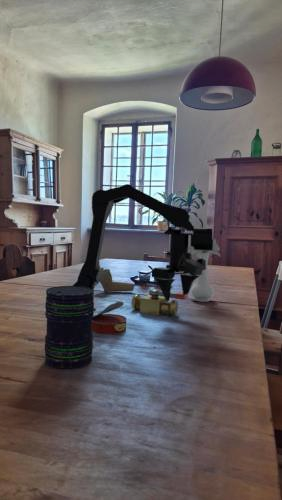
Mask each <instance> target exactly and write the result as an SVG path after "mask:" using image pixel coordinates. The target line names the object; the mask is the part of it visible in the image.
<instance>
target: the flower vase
mask: <svg viewBox="0 0 282 500" xmlns="http://www.w3.org/2000/svg"><path fill="white" fill-rule="evenodd" d="M219 251H221V249H220V247H219V244H218V243H217V241H216V238H214V239H213V248H212V251H208V250H194V247H191V244H190V245H188V253H191V255H192V254H195V255H196V258H198V259H201V258H202V259H204V260H206V269H205V270H203V271H202V275H198V276H199V277H198V278H197V280H196V282H195V283H194V285H193V284H192V286H191V288H190V291H189V293H190V294H191V296H192V297H193V300H194V301H195V302H200V303H201V302H202V303H206V302H209V301H211V300H210V299H211V298H213V296H214V295H215V290H214V288H213V287H212V285H211V284H210V282H209V279H208V263H209V262H208V261H209V259H210V255H211V254H213V255H216V256H217V255H218V256H219V257H220V258H221V254H220V253H219Z"/></svg>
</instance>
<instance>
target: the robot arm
mask: <svg viewBox="0 0 282 500" xmlns="http://www.w3.org/2000/svg"><path fill="white" fill-rule="evenodd" d="M127 199H128V200H129V199H131V200H132V201H134V202H136V203H138V204H140V205H142V206H144V207H146V208H148V209H150V210H151V211H153V212H155V213H157V214H159V215H160V216H161V217H163V219H165V220H166V221H168V222H169V224H172V226H174V227H176V229H175V228H172V227H171V226H169V227H168V228H167V230H165V231H164V232H163V233H164V235H170V237H169V251H167V252H166V256H169V259H168V261H169V262H168V264H166V266H165V267H163V266H162V267H161V266H159V267H154V268H153V269H152V270H151V278H154V280H155V281H156V283H157V284H158V286H159V287H160V290H161V291H162V293H163V295H164V297H165V300H167V301H170V299H171V298H170V292H172V291H171V289H172V288H171V287H172V284H173V283H174V282H175V279H174V278H175V276H176V275H179V276H180V283H181V289H182V293H188V294H189V293H190V291H191V288H192V286H193V283H194V281H196V279H198V277H199V275H202V271H203V270H205V269H206V260H204V259H202V258H201V259H200V258H198V259H193V258H192V254H191V253H189V249H188V246H189V239H190V245H191V247H194V250H208V251H212V248H213V241H214V239H213V231H214V230H213V228H195V226H194V225H193V224H192V223H191V221H190V214H189V212H188V211H187V210H186V209H183V208H181V207H178V206H174V205H172V204H167V203H165V202H162V201H161V200H158V199H157V198H155V197H153V196H151V195H149V194H147V193H145V192H143V191H141V190H139V189H137V187H134V186H133V185H132V184H129V183H128V184H127V183H125V184H123V185H121V186H116V187H114V188H109V189H106V190H105V189H98V190H96V191H94V192H93V193H92V197H91V210H92V211H91V212H92V224H91V228H90V235H89V241H88V245H87V251H86V256H85V257H86V258H85V260H84V263H83V265H82V267H81V268H80V271H79V274H78V276H77V279H76V282H75V283H73V285H72V286H83V287H89V288H92V289H94V290H95V287H96V286H97V285H99V284H100V280H102V273H103V270H105V268H104V267H101V266H100V258H101V253H102V247H103V242H104V237H105V236H104V235H105V231H106V225H107V221H108V218H109V216H110V214H111V213H112V210H113V207H114V205H115V204H117V203H120V202H122V201H125V200H127ZM177 228H179V229H177ZM181 228H183V229H185V230H186V231H187V232H189V233H187V232H183V230H182V229H181ZM190 232H191V233H190ZM189 236H190V238H189ZM96 310H97V309H96V308H95V307H94V308H93V312H94V311H96Z"/></svg>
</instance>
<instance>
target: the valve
mask: <svg viewBox="0 0 282 500" xmlns="http://www.w3.org/2000/svg"><path fill="white" fill-rule="evenodd" d="M169 301H170V300H169ZM169 301H167V300H165V297H163V296H151V295H149V294H147V295H145V296H141V295H140V294H134V295H133V296H132V298H131V303H130V304H131V309H133V310H139V313H140V314H146V315H151V316H152V315H153V316H157V317H160V316H163V315H167V316H172V317H175V316H176V315H177V313H178V310H179V302H178V300H177V299H175V300H174V299H172V300H171V301H170V302H169Z"/></svg>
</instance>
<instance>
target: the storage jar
mask: <svg viewBox="0 0 282 500" xmlns="http://www.w3.org/2000/svg"><path fill="white" fill-rule="evenodd" d="M94 290H95V288H94V289H92V288H89V287H83V286H73V285H58V286H52V287H49V288H47V289H46V291H45V295H46V296H45V303H44V304H45V305H44V308H45V313H44V315H45V319H46V333H45V336H44V352H45V353H44V357H45V358H44V363H45V366H47V367H48V368H50V369H52V370H58V371H73V370H74V371H75V370H79V369H83V368H85V367H88V366H90V365H91V363H92V361H93V357H92V355H93V349H94V342H93V341H94V335H93V333H92V332H93V331H92V317H93V316H94V313H95V312H94V311H93V308H95V299H94V293H95V291H94Z"/></svg>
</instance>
